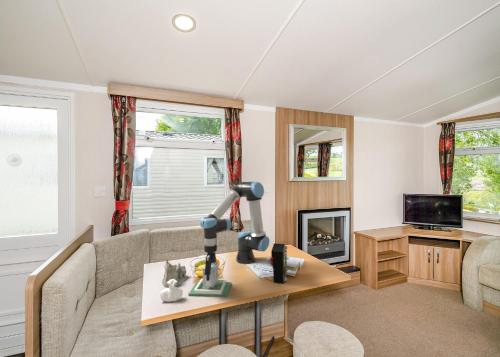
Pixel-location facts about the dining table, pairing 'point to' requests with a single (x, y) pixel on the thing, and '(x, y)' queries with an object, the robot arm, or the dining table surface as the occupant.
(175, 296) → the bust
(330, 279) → the dining table surface
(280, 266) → the electrical component
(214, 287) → the board
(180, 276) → the ceramic cottage
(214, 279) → the light bulb box
